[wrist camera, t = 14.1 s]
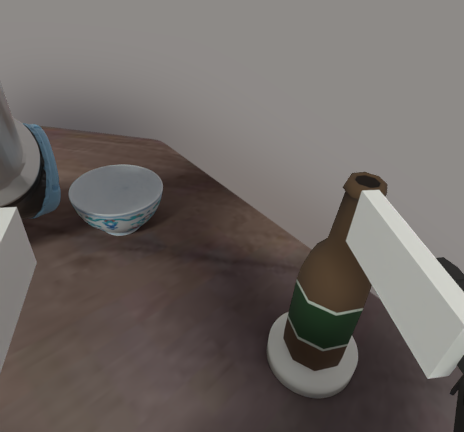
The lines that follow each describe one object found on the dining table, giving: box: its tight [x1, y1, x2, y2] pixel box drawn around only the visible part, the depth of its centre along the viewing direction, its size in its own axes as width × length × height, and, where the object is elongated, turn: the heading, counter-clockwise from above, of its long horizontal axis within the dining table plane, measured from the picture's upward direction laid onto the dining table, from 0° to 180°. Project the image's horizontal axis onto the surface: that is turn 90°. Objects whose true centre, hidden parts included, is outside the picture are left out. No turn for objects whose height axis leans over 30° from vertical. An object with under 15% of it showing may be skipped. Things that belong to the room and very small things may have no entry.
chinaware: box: [68, 165, 163, 236], centre depth 65 cm, size 15×15×8 cm
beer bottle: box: [283, 172, 387, 371], centre depth 40 cm, size 8×8×24 cm
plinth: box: [267, 312, 358, 398], centre depth 48 cm, size 11×11×2 cm
